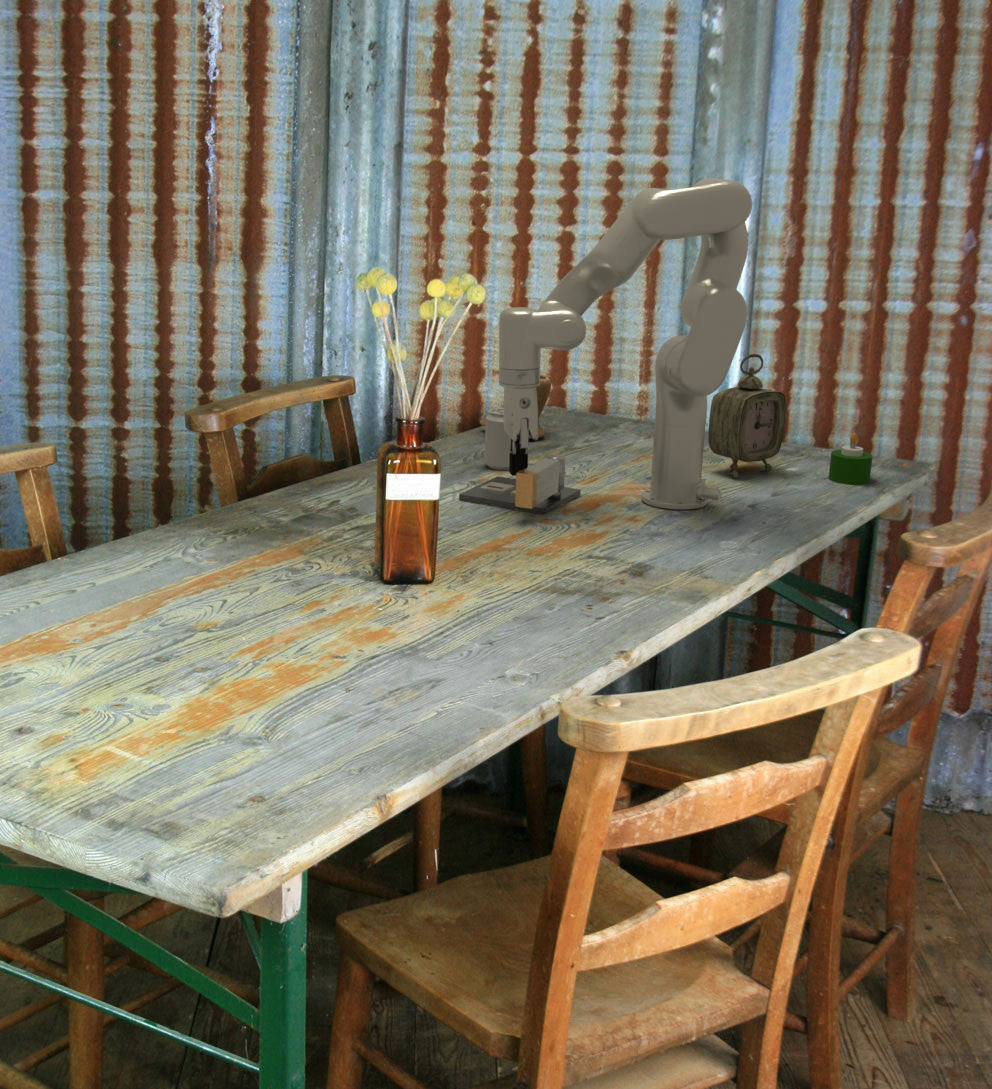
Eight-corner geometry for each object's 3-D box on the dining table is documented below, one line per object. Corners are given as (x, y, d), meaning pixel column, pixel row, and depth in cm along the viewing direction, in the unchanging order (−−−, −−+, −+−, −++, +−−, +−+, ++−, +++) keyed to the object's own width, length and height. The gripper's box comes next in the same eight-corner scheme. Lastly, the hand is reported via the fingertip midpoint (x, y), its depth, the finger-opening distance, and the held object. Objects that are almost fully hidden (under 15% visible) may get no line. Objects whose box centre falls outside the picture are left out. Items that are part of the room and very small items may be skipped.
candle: (835, 473, 281) (840, 426, 278) (874, 479, 277) (879, 432, 274) (823, 480, 274) (828, 433, 272) (862, 487, 270) (868, 439, 268)
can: (520, 471, 273) (522, 414, 270) (483, 470, 274) (485, 413, 270) (520, 463, 281) (522, 407, 277) (484, 461, 281) (486, 405, 277)
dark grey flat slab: (580, 495, 257) (581, 481, 256) (545, 514, 243) (546, 500, 243) (497, 482, 265) (497, 468, 264) (459, 500, 251) (459, 485, 250)
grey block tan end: (549, 485, 252) (550, 453, 251) (566, 487, 251) (568, 455, 249) (514, 506, 238) (515, 472, 236) (532, 508, 236) (534, 475, 234)
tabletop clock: (734, 481, 271) (745, 359, 264) (701, 472, 278) (710, 353, 270) (780, 472, 280) (791, 354, 273) (746, 463, 287) (757, 347, 279)
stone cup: (558, 439, 304) (562, 374, 299) (516, 444, 297) (518, 378, 293) (520, 426, 316) (523, 363, 311) (478, 431, 309) (480, 367, 305)
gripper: (548, 383, 236) (547, 483, 241) (531, 368, 250) (529, 463, 255) (507, 384, 234) (506, 485, 240) (491, 370, 248) (491, 465, 254)
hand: (518, 474), depth 248 cm, fingers closed
